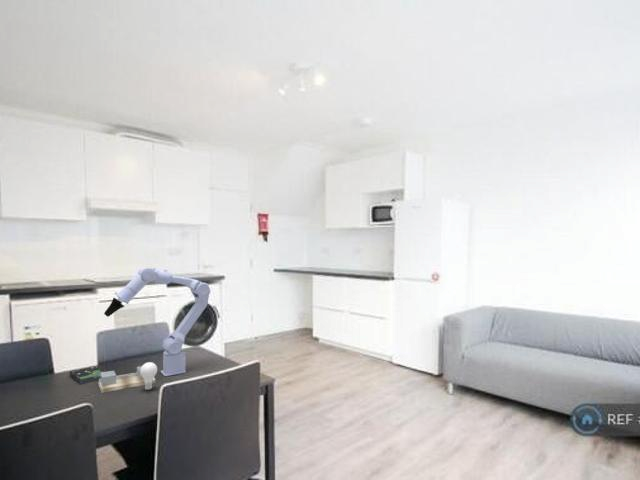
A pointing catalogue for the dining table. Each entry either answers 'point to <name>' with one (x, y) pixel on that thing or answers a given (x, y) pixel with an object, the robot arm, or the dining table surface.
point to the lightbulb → (148, 374)
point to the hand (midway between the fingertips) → (106, 315)
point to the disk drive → (86, 375)
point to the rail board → (120, 380)
